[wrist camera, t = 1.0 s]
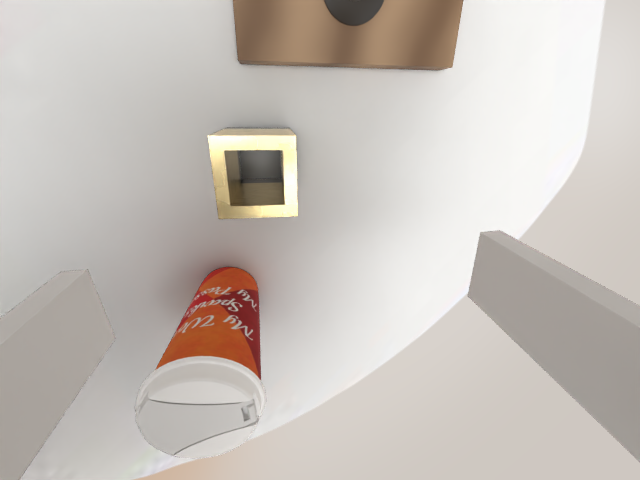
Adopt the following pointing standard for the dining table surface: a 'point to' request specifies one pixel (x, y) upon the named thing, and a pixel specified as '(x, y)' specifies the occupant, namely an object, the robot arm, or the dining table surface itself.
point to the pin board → (348, 33)
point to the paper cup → (208, 373)
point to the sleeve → (253, 194)
